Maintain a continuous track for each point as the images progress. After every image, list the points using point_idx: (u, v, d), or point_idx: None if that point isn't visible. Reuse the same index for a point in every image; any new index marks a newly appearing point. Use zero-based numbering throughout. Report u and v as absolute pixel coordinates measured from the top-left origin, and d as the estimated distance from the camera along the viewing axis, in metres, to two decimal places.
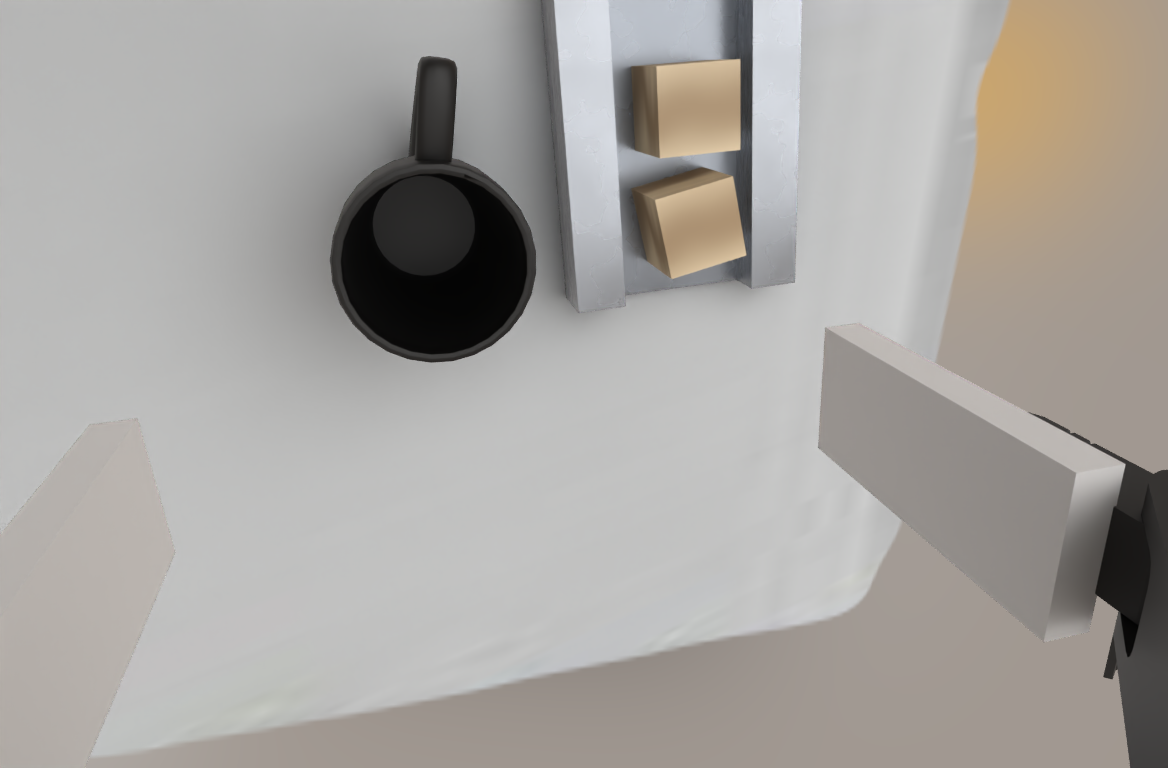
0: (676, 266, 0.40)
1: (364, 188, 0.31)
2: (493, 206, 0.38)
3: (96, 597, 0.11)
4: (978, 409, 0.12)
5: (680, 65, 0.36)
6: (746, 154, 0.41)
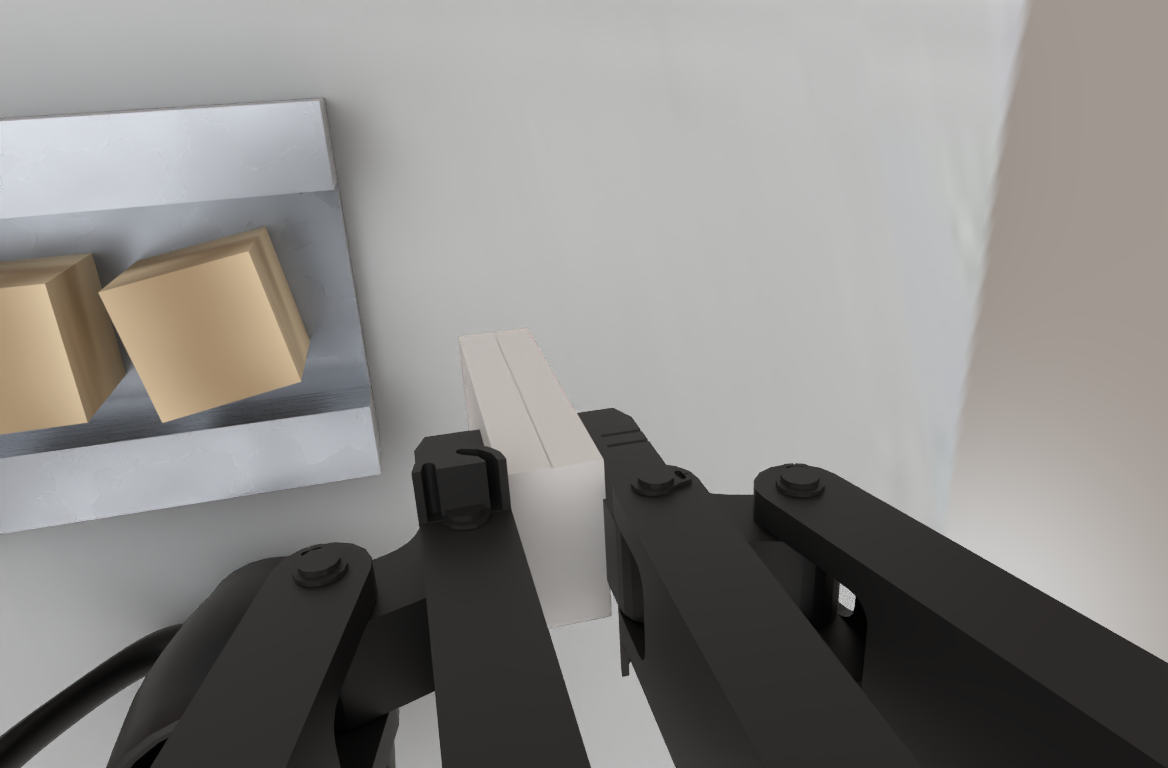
0: (277, 375, 0.24)
1: None
2: None
3: None
4: (537, 409, 0.13)
5: None
6: None
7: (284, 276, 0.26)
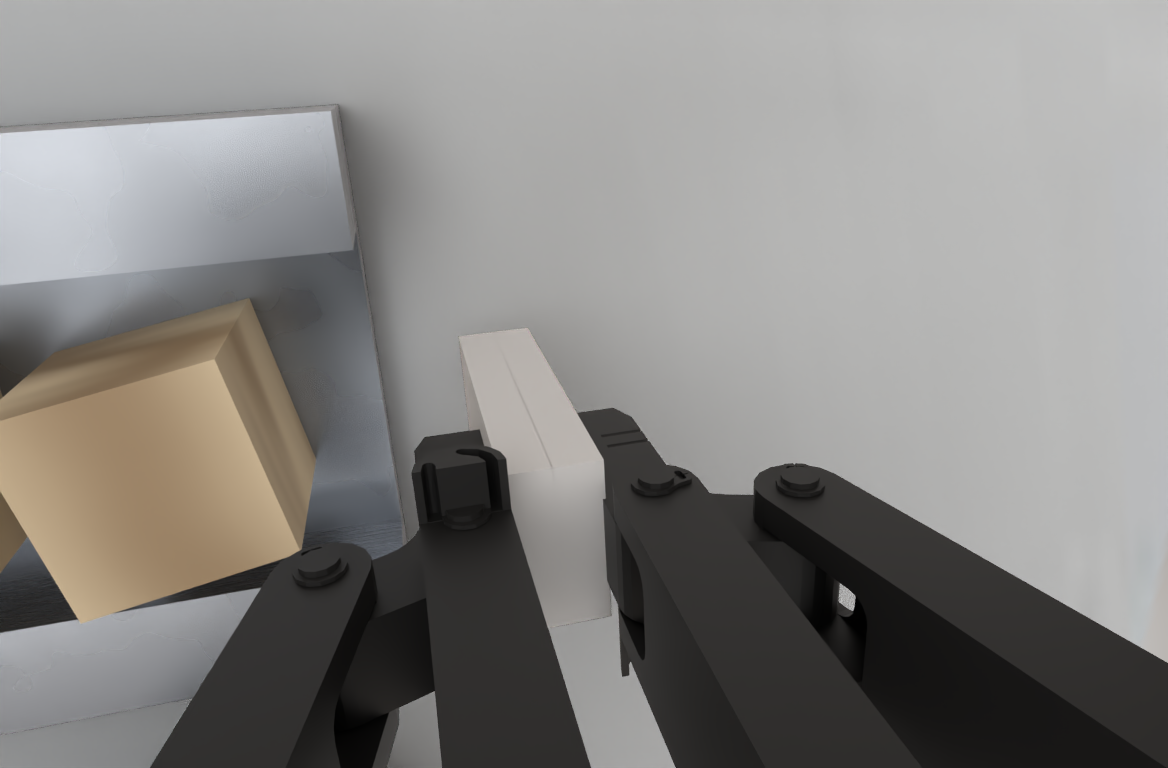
0: (264, 546, 0.15)
1: None
2: None
3: None
4: (536, 409, 0.13)
5: None
6: None
7: (278, 370, 0.18)
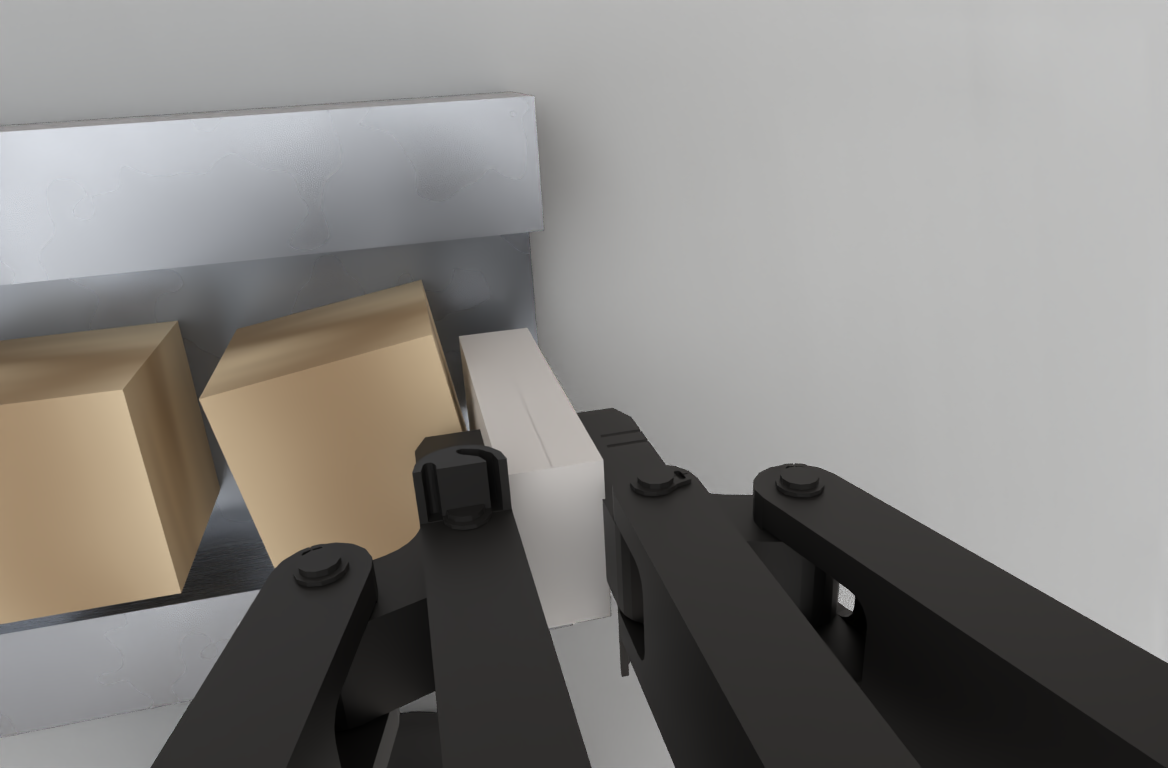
0: None
1: None
2: None
3: None
4: (536, 409, 0.13)
5: None
6: None
7: None
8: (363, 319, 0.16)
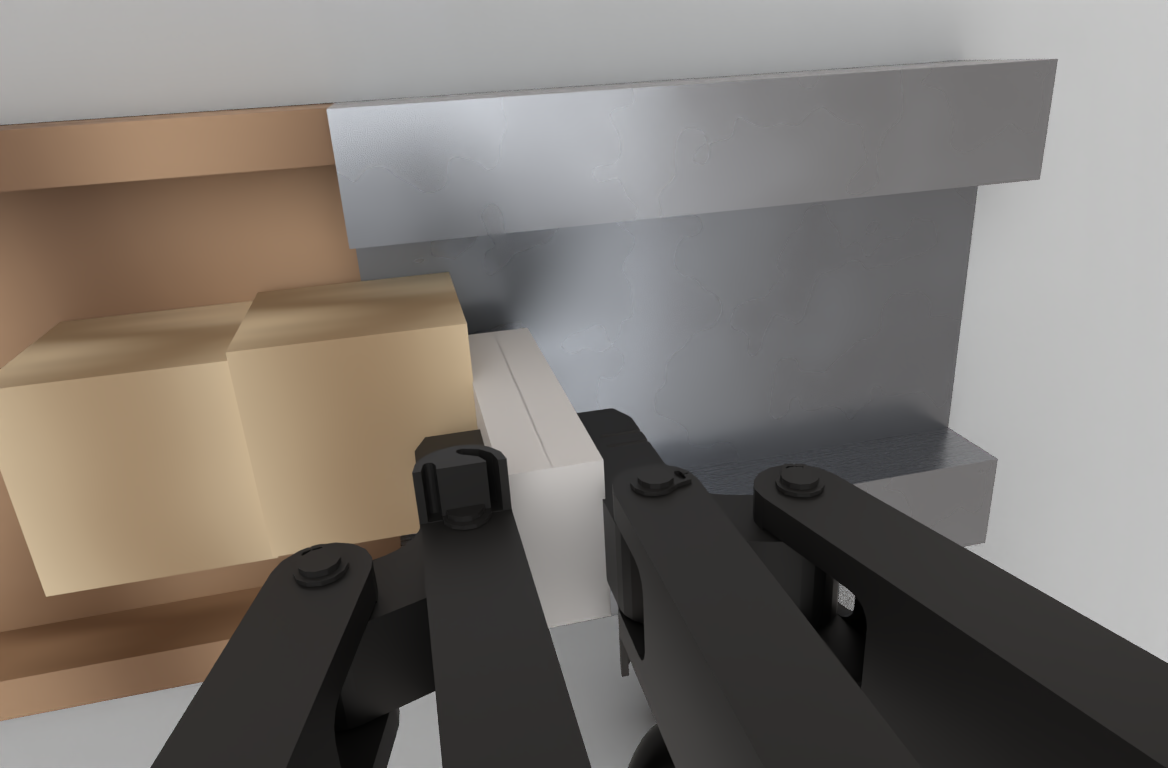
0: None
1: None
2: None
3: None
4: (536, 409, 0.13)
5: (30, 541, 0.14)
6: None
7: None
8: (392, 300, 0.16)
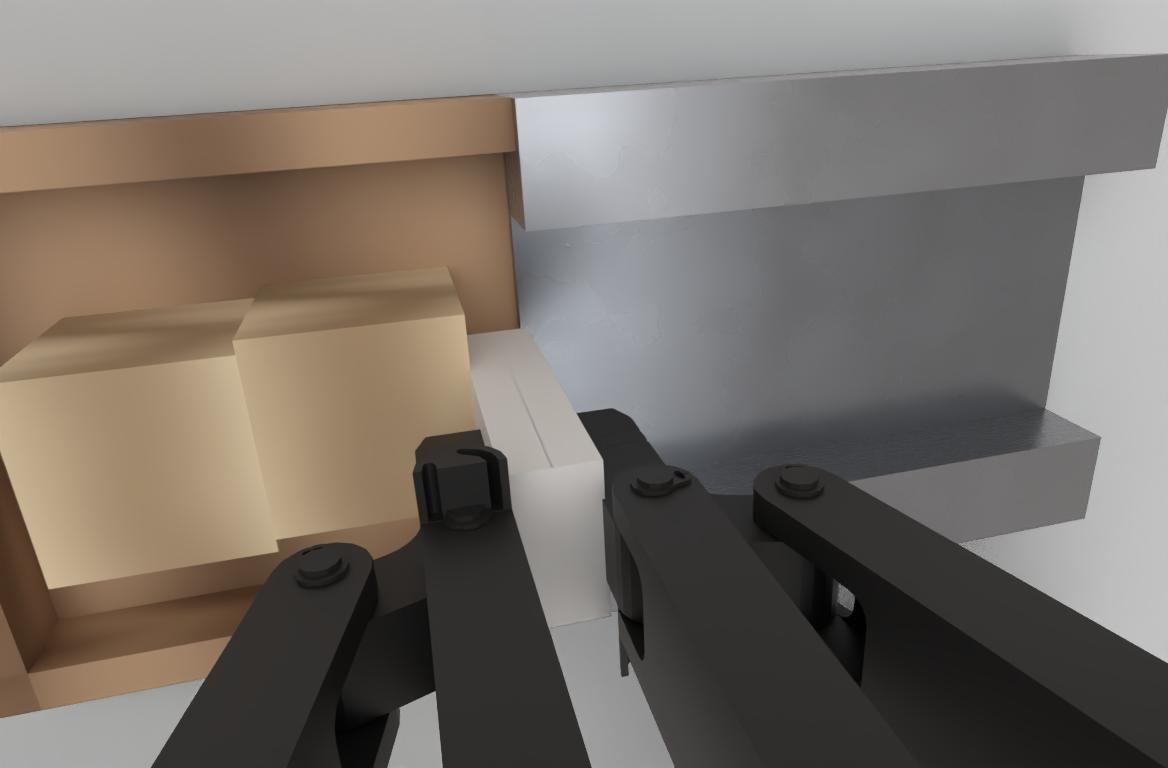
0: None
1: None
2: None
3: None
4: (536, 409, 0.13)
5: (33, 534, 0.14)
6: None
7: None
8: (392, 293, 0.16)
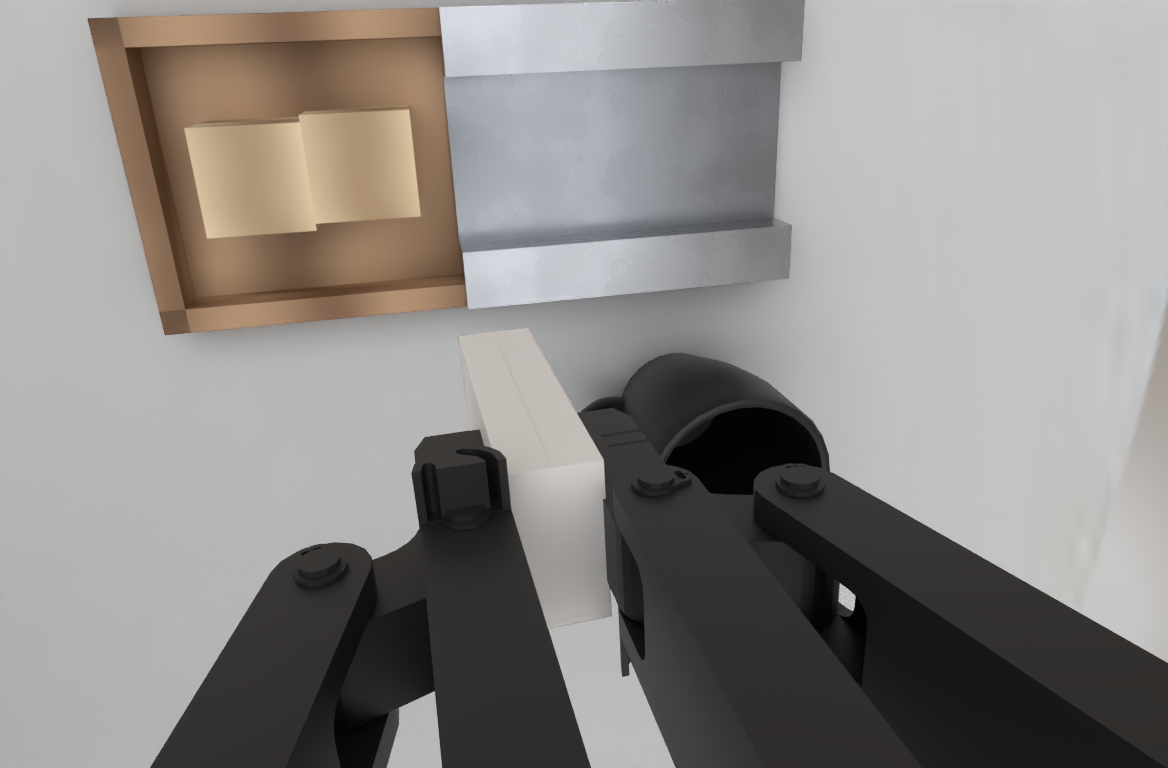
0: (405, 207, 0.32)
1: None
2: None
3: None
4: (536, 409, 0.13)
5: (202, 208, 0.30)
6: None
7: None
8: (376, 108, 0.32)
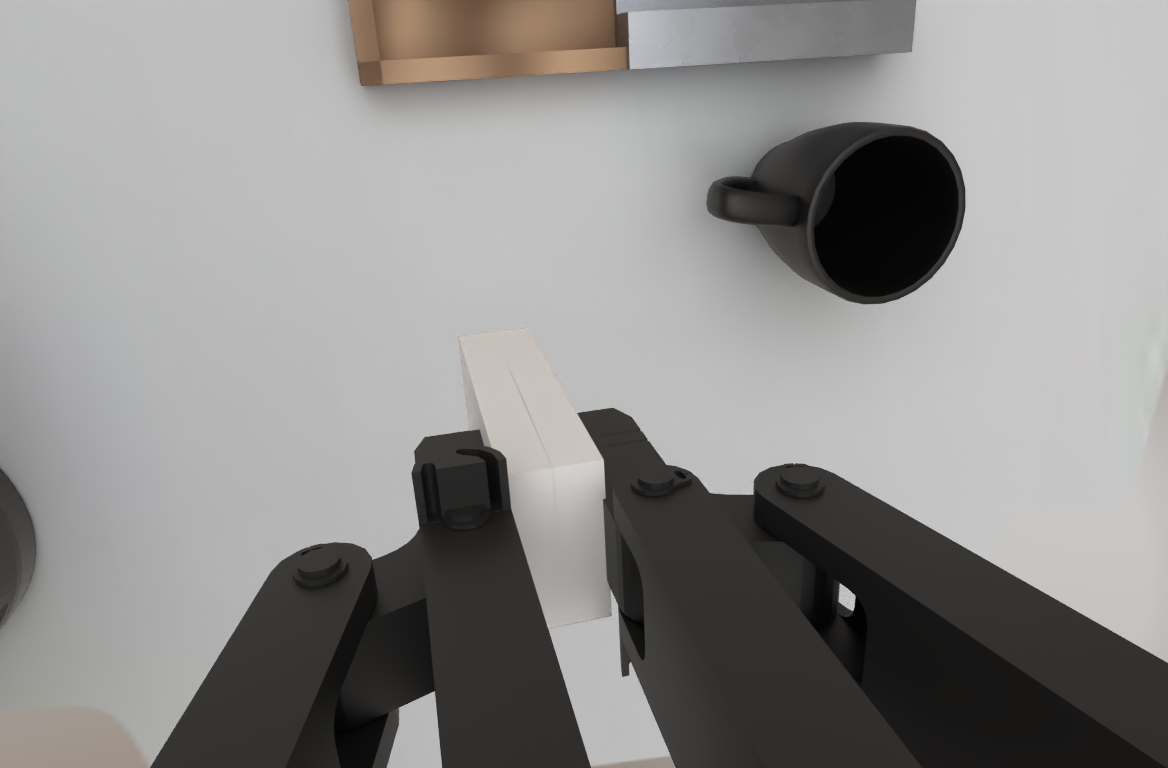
0: None
1: (816, 274, 0.38)
2: None
3: None
4: (536, 409, 0.13)
5: None
6: None
7: None
8: None
